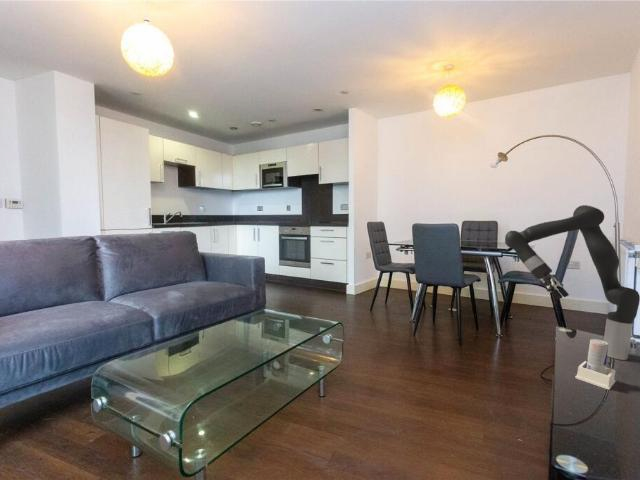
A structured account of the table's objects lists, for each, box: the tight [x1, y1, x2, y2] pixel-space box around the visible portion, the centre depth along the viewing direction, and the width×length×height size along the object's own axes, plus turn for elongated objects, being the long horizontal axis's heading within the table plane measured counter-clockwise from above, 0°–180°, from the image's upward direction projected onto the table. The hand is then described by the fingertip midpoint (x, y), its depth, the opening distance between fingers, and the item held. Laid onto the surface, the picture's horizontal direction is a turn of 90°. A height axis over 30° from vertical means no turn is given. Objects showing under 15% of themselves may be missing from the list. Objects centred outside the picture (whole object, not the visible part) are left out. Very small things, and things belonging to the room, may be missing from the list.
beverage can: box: [586, 338, 608, 374], centre depth 132 cm, size 6×6×15 cm
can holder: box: [574, 360, 616, 390], centre depth 132 cm, size 10×10×5 cm
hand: (563, 297), depth 147 cm, fingers open, 8 cm apart
